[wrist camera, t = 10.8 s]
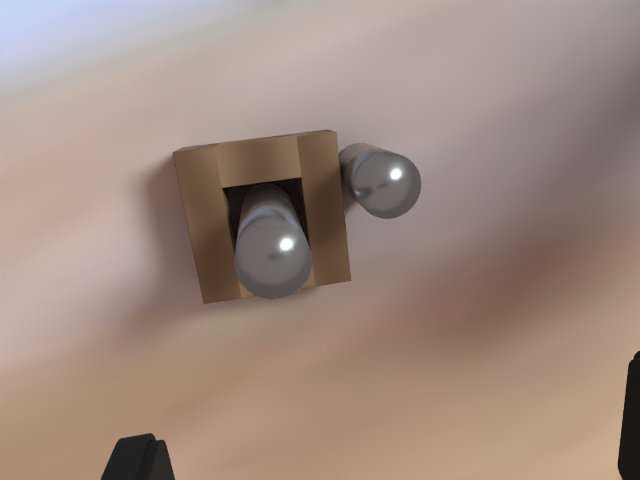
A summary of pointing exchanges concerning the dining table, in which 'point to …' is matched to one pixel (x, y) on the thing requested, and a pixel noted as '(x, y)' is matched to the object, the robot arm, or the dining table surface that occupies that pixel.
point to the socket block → (255, 167)
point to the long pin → (271, 244)
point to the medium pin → (379, 180)
